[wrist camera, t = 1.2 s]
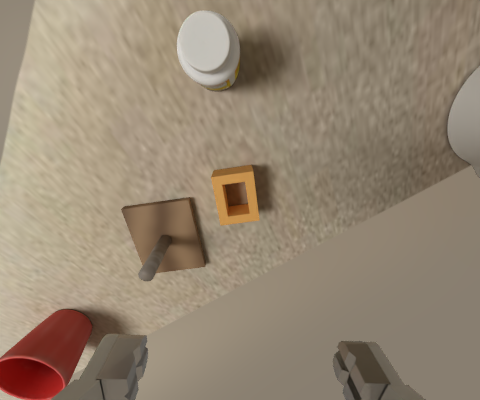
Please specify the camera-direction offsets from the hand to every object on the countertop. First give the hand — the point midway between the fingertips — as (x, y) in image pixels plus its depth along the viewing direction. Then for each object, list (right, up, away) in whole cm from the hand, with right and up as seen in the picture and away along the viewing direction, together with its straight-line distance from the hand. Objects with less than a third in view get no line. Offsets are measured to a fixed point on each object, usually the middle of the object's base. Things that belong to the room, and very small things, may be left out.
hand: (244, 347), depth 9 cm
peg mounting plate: (-12, 0, +26) cm, 28 cm away
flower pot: (-32, -17, +33) cm, 49 cm away
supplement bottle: (-3, +22, +17) cm, 28 cm away
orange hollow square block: (-1, +8, +23) cm, 24 cm away
